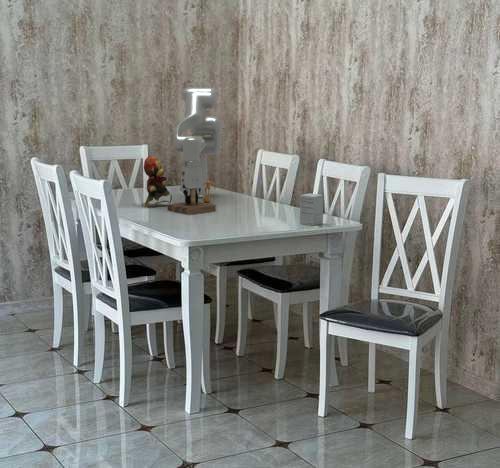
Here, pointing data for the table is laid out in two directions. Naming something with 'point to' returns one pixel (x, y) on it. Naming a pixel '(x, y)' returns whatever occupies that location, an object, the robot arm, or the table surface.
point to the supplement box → (311, 209)
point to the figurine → (207, 197)
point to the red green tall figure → (155, 181)
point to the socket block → (191, 208)
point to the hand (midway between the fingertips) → (191, 202)
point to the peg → (192, 197)
